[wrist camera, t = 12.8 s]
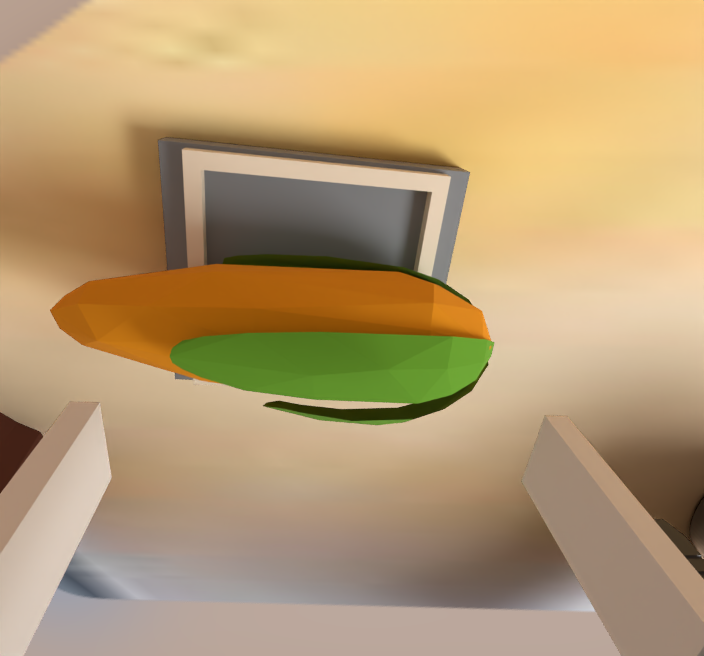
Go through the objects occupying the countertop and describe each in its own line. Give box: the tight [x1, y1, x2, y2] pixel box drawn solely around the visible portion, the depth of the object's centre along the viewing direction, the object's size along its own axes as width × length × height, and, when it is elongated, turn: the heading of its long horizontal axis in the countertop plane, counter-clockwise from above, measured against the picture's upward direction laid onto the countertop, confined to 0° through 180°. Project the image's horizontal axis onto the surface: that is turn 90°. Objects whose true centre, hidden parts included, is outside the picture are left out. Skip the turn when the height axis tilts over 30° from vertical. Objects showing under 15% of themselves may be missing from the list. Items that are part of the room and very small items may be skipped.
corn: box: [50, 254, 494, 425], centre depth 21 cm, size 7×8×20 cm
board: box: [158, 137, 470, 386], centre depth 25 cm, size 13×15×2 cm
